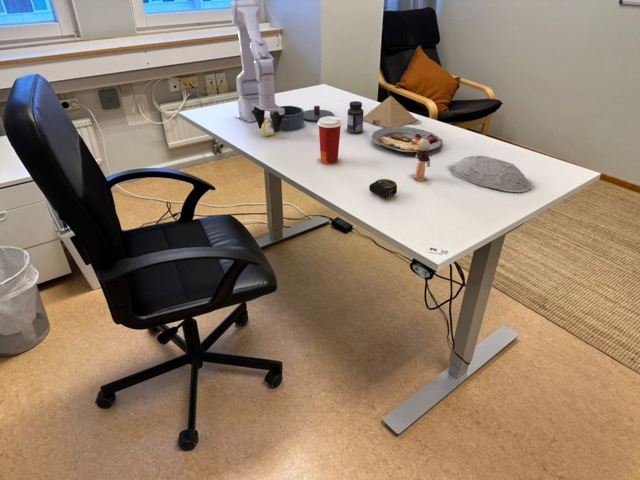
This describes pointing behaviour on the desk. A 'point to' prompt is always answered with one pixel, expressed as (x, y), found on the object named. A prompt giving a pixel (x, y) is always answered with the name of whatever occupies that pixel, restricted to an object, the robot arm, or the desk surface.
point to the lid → (316, 114)
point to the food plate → (405, 139)
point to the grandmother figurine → (422, 160)
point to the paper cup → (329, 139)
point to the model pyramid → (389, 114)
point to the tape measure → (384, 188)
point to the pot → (291, 118)
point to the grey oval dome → (491, 173)
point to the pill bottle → (355, 117)
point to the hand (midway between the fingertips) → (269, 130)
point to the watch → (264, 125)
